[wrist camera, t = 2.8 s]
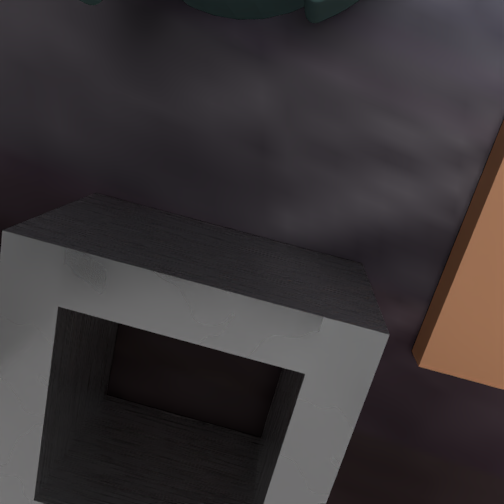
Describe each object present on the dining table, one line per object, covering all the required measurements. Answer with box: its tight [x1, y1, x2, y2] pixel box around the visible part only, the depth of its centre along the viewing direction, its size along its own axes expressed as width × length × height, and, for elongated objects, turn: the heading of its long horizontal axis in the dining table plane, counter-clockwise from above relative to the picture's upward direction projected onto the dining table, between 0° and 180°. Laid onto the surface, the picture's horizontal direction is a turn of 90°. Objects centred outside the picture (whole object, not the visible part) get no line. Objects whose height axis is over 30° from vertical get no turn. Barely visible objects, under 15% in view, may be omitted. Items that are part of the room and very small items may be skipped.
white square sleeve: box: [0, 193, 389, 504], centre depth 14 cm, size 9×9×5 cm
